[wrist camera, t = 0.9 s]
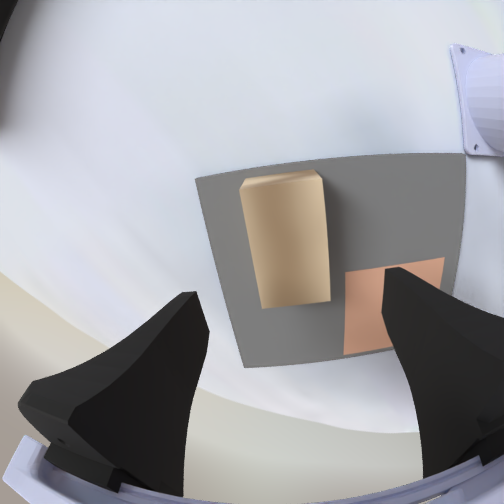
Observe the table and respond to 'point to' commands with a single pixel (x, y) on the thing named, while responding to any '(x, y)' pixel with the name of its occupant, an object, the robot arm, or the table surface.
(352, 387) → the table surface
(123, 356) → the robot arm
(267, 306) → the card box
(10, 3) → the black tray
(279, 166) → the mat
